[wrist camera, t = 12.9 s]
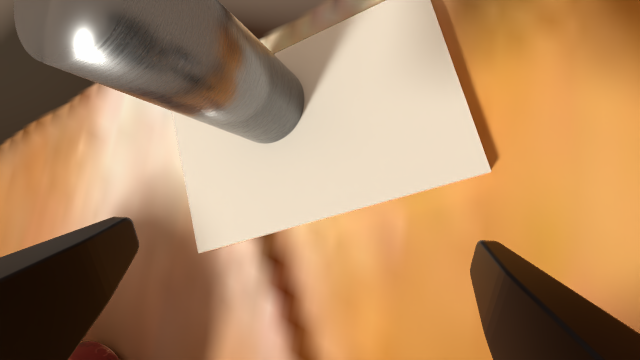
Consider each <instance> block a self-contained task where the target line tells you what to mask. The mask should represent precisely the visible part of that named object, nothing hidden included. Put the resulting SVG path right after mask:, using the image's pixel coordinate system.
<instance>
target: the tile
mask: <svg viewBox="0 0 640 360" xmlns="http://www.w3.org/2000/svg"><path fill="white" fill-rule="evenodd" d="M274 55H275V56H276V57H277V58H278V59H279V60H280V61H281V62H282V63H283V64H284V65H285V66H286V67H287V68H288V69H289V70H290V71H291V72H292V73H293V74H294V75H295V76H296V77H297V78H298V79H299V81H300V83H301V85H302V87H303V91H304V98H305V100H304V109H303V113H302V116H301V118H300V120H299V122H298V124H297V125H296V127H295V128H294V129H293V131H292V132H291V133H290V134H288V135H287V136H286V137H284V138H283V139H281V140H279V141H276V142H273V143H267V144H263V143H257V142H254V141H251V140H248V139H246V138H243V137H240V136H238V135H235V134H232V133H230V132H227V131H224V130H222V129H219V128H216V127H214V126H211V125H208V124H206V123H203V122H200V121H198V120H195V119H192V118H190V117H187V116H184V115H182V114H179V113H176V112H174V111H172V117H173V122H174V127H175V133H176V138H177V143H178V149H179V154H180V159H181V165H182V170H183V175H184V180H185V186H186V191H187V196H188V202H189V207H190V212H191V218H192V223H193V228H194V234H195V239H196V244H197V249H198V253H203V252H208V251H212V250H215V249H219V248H222V247H226V246H230V245H233V244H237V243H240V242H244V241H248V240H251V239H255V238H258V237H262V236H265V235H269V234H273V233H276V232H280V231H283V230H287V229H291V228H294V227H298V226H301V225H305V224H309V223H312V222H316V221H319V220H323V219H327V218H330V217H334V216H337V215H341V214H345V213H348V212H352V211H355V210H359V209H363V208H366V207H370V206H373V205H377V204H381V203H384V202H388V201H391V200H395V199H399V198H402V197H406V196H409V195H413V194H417V193H420V192H424V191H427V190H431V189H434V188H438V187H442V186H445V185H449V184H452V183H456V182H460V181H463V180H467V179H470V178H474V177H478V176H481V175H485V174H488V173H490V172H491V169H490V166H489V164H488V161H487V158H486V155H485V152H484V150H483V147H482V144H481V141H480V138H479V135H478V133H477V130H476V127H475V124H474V121H473V119H472V116H471V113H470V110H469V107H468V105H467V102H466V99H465V96H464V93H463V90H462V88H461V85H460V82H459V79H458V76H457V74H456V71H455V68H454V65H453V62H452V60H451V57H450V54H449V51H448V48H447V45H446V43H445V40H444V37H443V34H442V31H441V29H440V26H439V23H438V20H437V17H436V15H435V12H434V9H433V6H432V3H431V1H430V0H386V1H384V2H381V3H379V4H377V5H375V6H373V7H371V8H369V9H367V10H365V11H363V12H360V13H358V14H356V15H354V16H352V17H350V18H348V19H346V20H344V21H342V22H339V23H337V24H335V25H333V26H331V27H329V28H327V29H325V30H323V31H320V32H318V33H316V34H314V35H312V36H310V37H308V38H306V39H304V40H302V41H299V42H297V43H295V44H293V45H291V46H289V47H287V48H285V49H283V50H281V51H278V52H276V53H274Z"/></svg>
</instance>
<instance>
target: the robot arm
mask: <svg viewBox="0 0 640 360" xmlns="http://www.w3.org/2000/svg"><path fill="white" fill-rule="evenodd" d="M138 248H139V241H138V238H137V234H136V231H135V228H134V224H133V222H132V220H131V219H130V218H127V217H112V218H109V219H106V220H103V221H100V222H98V223H95V224H92V225H89V226H86V227H84V228H81V229H78V230H75V231H73V232H70V233H67V234H64V235H61V236H59V237H56V238H53V239H50V240H48V241H45V242H42V243H39V244H36V245H34V246H31V247H28V248H25V249H22V250H20V251H17V252H14V253H11V254H9V255H6V256H3V257H0V360H68V359H69V358H70V356H71V355H72V353H73V352H74V351H75V349H76V348H77V346H78V345H79V344H80V342H81V341H82V339H83V338H84V336H85V335H86V334H87V332H88V331H89V329H90V328H91V326H92V325H93V324H94V322H95V321H96V319H97V318H98V316H99V315H100V314H101V312H102V311H103V309H104V308H105V306H106V305H107V303H108V302H109V300H110V299H111V297H112V295H113V294H114V292H115V290H116V288H117V287H118V285H119V283H120V281H121V280H122V278H123V276H124V274H125V273H126V271H127V269H128V267H129V266H130V264H131V262H132V260H133V259H134V257H135V255H136V253H137V251H138ZM470 275H471V280H472V284H473V288H474V293H475V297H476V301H477V305H478V310H479V314H480V318H481V322H482V326H483V330H484V334H485V337H486V340H487V343H488V346H489V349H490V352H491V355H492V358H493V360H640V334H639V333H638V332H636V331H635V330H633V329H632V328H630V327H629V326H627V325H626V324H624V323H622V322H621V321H619V320H618V319H616V318H615V317H613V316H612V315H610V314H609V313H607V312H605V311H604V310H602V309H601V308H599V307H598V306H596V305H595V304H593V303H592V302H590V301H589V300H587V299H585V298H584V297H582V296H581V295H579V294H578V293H576V292H575V291H573V290H572V289H570V288H568V287H567V286H565V285H564V284H562V283H561V282H559V281H558V280H556V279H555V278H553V277H551V276H550V275H548V274H547V273H545V272H544V271H542V270H541V269H539V268H538V267H536V266H535V265H533V264H531V263H530V262H528V261H527V260H525V259H524V258H522V257H521V256H519V255H518V254H516V253H514V252H513V251H511V250H510V249H508V248H507V247H505V246H504V245H502V244H501V243H499V242H497V241H486V240H480V241H479V242H478V243H477V245H476V248H475V252H474V255H473V259H472V263H471V268H470Z"/></svg>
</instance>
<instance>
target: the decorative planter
mask: <svg viewBox="0 0 640 360" xmlns="http://www.w3.org/2000/svg"><path fill="white" fill-rule="evenodd" d="M68 360H119V358H118V357H117V355H116V354H115V353H114V352H113V351H112V350H111V349H109V348H108V347H107V346H105V345H102V344H101V343H98V342H94V341H88V342H81V343H80V344H79V345H78V346H77V348H76V349H75V351H74V352H73V353H72V355H71V356H70V358H69V359H68Z"/></svg>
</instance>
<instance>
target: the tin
mask: <svg viewBox="0 0 640 360" xmlns="http://www.w3.org/2000/svg"><path fill="white" fill-rule="evenodd" d="M14 18H15V25H16V29H17V33H18V36H19V39H20V41H21V43H22V45H23V46H24V48H25V50H26V51H27V52H28V53H29V54H30V55H31V56H32V57H34V58H35V59H36V60H38V61H41V62H43V63H45V64H48V65H51V66H54V67H56V68H59V69H61V70H64V71H67V72H70V73H72V74H75V75H77V76H80V77H83V78H85V79H88V80H91V81H94V82H96V83H99V84H101V85H104V86H107V87H109V88H112V89H115V90H118V91H120V92H123V93H126V94H128V95H131V96H134V97H136V98H139V99H142V100H144V101H147V102H150V103H152V104H155V105H158V106H160V107H163V108H166V109H168V110H171V111H174V112H176V113H179V114H182V115H184V116H187V117H190V118H192V119H195V120H198V121H200V122H203V123H206V124H208V125H211V126H214V127H216V128H219V129H222V130H224V131H227V132H230V133H232V134H235V135H238V136H240V137H243V138H246V139H248V140H251V141H254V142H257V143H263V144H267V143H273V142H276V141H279V140H281V139H283V138H284V137H286V136H287V135H288V134H290V133H291V132H292V131H293V129H294V128H295V127H296V125H297V124H298V122H299V120H300V118H301V116H302V113H303V109H304V100H305V98H304V91H303V87H302V85H301V83H300V81H299V79H298V78H297V77H296V76H295V75H294V74H293V73H292V72H291V71H290V70H289V69H288V68H287V67H286V66H285V65H284V64H283V63H282V62H281V61H280V60H279V59H278V58H277V57H276V56H275V55H274V54H273V53H272V52H271V51H270V50H269V49H268V48H267V47H265V46H264V45H263V44H262V43H261V42H260V41H259V40H258V39H257V38H256V37H255V36H254V35H253V34H252V33H251V32H250V31H249V30H248V29H247V28H246V27H245V26H244V25H243V24H242V23H240V21H239V20H237V19H236V18H235V17H234V16H233V15H232V14H231V13H230V12H229V11H228V10H227V9H226V8H225V7H224V6H223V5H222V4H221V3H220V2H219V1H218V0H14Z"/></svg>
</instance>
